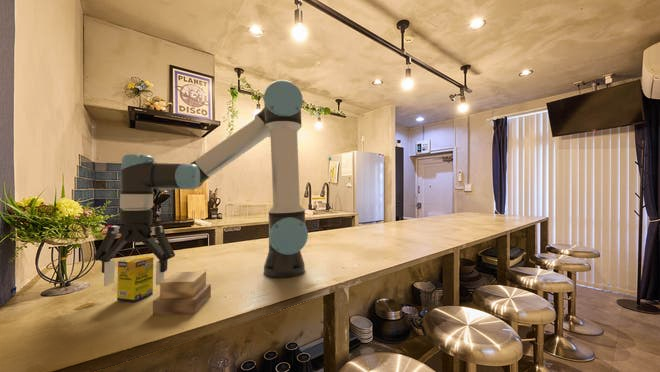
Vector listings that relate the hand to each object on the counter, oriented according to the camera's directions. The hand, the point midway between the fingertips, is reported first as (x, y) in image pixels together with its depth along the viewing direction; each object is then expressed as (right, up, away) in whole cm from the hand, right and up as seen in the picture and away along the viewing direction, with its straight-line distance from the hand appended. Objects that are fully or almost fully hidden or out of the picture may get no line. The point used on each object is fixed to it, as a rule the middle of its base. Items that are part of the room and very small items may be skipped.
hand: (134, 283), depth 72 cm
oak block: (+17, 0, -4) cm, 17 cm away
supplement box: (0, -4, 0) cm, 4 cm away
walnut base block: (+17, -4, -5) cm, 18 cm away
